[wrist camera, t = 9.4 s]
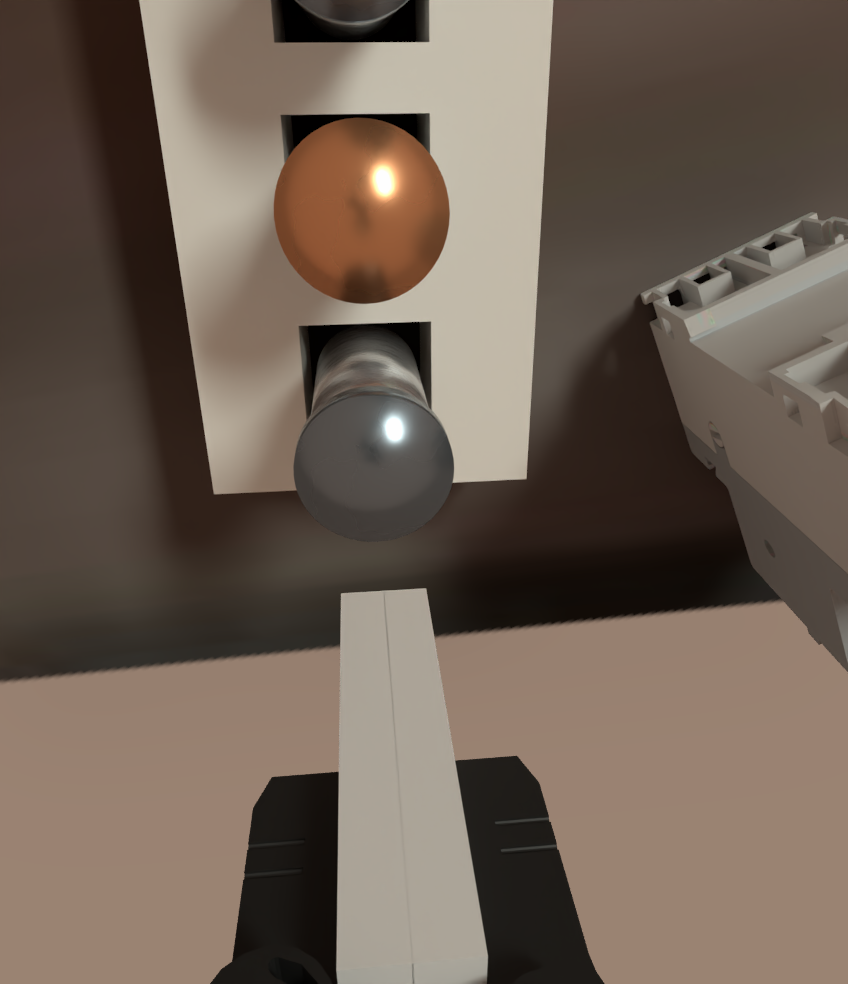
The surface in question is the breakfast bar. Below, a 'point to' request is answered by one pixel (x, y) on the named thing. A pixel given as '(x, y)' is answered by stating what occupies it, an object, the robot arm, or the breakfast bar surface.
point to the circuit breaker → (773, 405)
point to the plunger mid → (361, 210)
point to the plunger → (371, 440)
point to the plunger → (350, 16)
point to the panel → (258, 253)
